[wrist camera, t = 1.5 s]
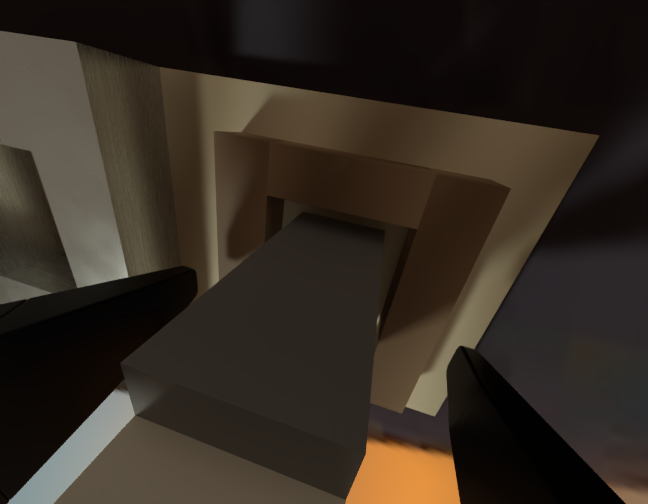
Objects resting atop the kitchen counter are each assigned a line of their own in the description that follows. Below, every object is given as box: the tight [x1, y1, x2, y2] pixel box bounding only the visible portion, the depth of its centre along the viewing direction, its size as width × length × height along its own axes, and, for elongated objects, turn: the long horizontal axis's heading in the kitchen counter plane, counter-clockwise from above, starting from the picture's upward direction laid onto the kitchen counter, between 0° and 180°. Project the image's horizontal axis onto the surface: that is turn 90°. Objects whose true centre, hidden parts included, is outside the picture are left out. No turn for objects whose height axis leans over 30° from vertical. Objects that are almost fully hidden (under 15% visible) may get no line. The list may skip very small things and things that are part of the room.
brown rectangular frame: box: [214, 131, 511, 413], centre depth 9 cm, size 8×9×2 cm
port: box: [0, 31, 181, 304], centre depth 11 cm, size 10×12×3 cm
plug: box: [54, 212, 385, 504], centre depth 6 cm, size 3×4×8 cm, turn 170°
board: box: [30, 67, 599, 416], centre depth 11 cm, size 24×12×1 cm, turn 80°
